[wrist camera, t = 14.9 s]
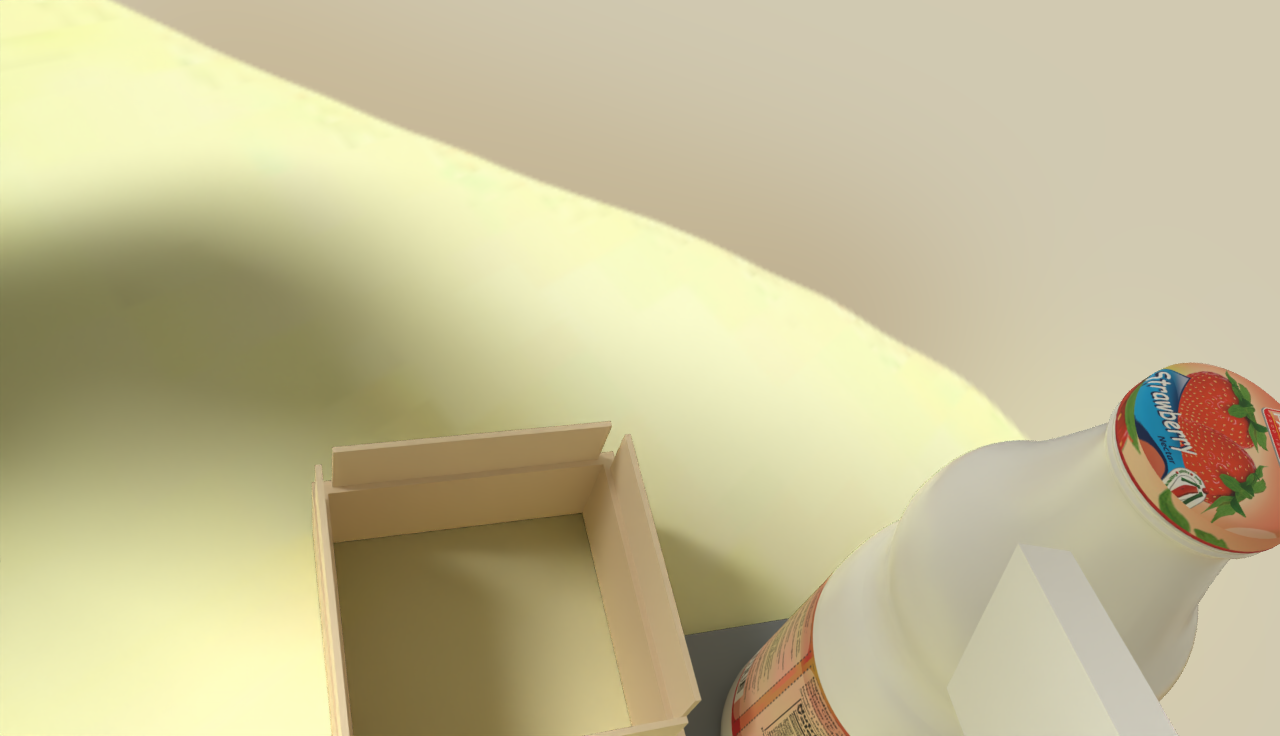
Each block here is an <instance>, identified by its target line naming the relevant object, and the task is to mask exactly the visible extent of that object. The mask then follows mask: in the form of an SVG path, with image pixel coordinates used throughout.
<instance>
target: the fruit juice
mask: <svg viewBox="0 0 1280 736" xmlns="http://www.w3.org/2000/svg"><path fill="white" fill-rule="evenodd" d="M1018 543H1020V544H1027V545H1033V546H1040V547H1046V548H1052V549H1059V550H1065V551H1071V553H1072V555H1073V556H1074V558H1075V560H1076V561H1077V563H1078V565H1079V567H1080V568H1081V570H1082V572H1083V573H1084V575H1085V577H1086V578H1087V580H1088V582H1089V584H1090V585H1091V587H1092V589H1093V590H1094V592H1095V594H1096V596H1097V597H1098V599H1099V601H1100V602H1101V604H1102V606H1103V608H1104V609H1105V611H1106V613H1107V614H1108V616H1109V618H1110V619H1111V621H1112V623H1113V625H1114V626H1115V628H1116V630H1117V631H1118V633H1119V635H1120V637H1121V638H1122V640H1123V642H1124V643H1125V645H1126V647H1127V648H1128V650H1129V652H1130V654H1131V655H1132V657H1133V659H1134V660H1135V662H1136V664H1137V666H1138V667H1139V669H1140V671H1141V672H1142V674H1143V676H1144V678H1145V679H1146V681H1147V683H1148V684H1149V686H1150V688H1151V689H1152V691H1153V693H1154V695H1155V696H1156V698H1157V700H1158V701H1160V700H1161V699H1162V698H1163V697H1164V696H1165V695H1166V694H1167V693H1168V692H1169V690H1170V689H1171V688H1172V687H1173V685H1174V684H1175V683H1176V682H1177V680H1178V679H1179V677H1180V675H1181V674H1182V672H1183V670H1184V668H1185V666H1186V664H1187V662H1188V659H1189V657H1190V654H1191V651H1192V648H1193V644H1194V640H1195V635H1196V630H1197V621H1198V604H1199V602H1200V600H1201V599H1202V597H1203V596H1204V594H1205V592H1206V591H1207V589H1208V588H1209V586H1210V585H1211V584H1212V582H1213V581H1214V579H1215V578H1216V576H1217V575H1218V574H1219V572H1220V571H1221V570H1222V568H1223V567H1224V566H1225V565H1226V563H1227V562H1228V561H1229V560H1230V559H1240V558H1246V557H1250V556H1253V555H1256V554H1258V553H1260V552H1263V551H1266V550H1269V549H1271V548H1273V547H1275V546H1277V545H1278V544H1280V404H1279V403H1278V402H1277V401H1275V399H1273V398H1272V397H1271V396H1270V395H1269V394H1267V393H1266V392H1265V391H1264V390H1262V389H1261V388H1260V387H1258V386H1257V385H1255V384H1254V383H1252V382H1251V381H1249V380H1247V379H1245V378H1244V377H1242V376H1240V375H1238V374H1236V373H1234V372H1231V371H1229V370H1226V369H1224V368H1220V367H1217V366H1213V365H1209V364H1203V363H1180V364H1175V365H1171V366H1168V367H1166V368H1163V369H1161V370H1159V371H1157V372H1155V373H1154V374H1152V375H1150V376H1149V377H1147V378H1146V379H1144V380H1143V381H1142V382H1140V383H1139V384H1137V385H1136V386H1135V387H1134V388H1132V389H1131V390H1130V391H1129V392H1128V393H1127V394H1126V395H1125V397H1124V398H1123V400H1122V401H1121V402H1120V403H1119V404H1118V405H1117V407H1116V408H1115V409H1114V411H1113V412H1112V414H1111V417H1110V419H1109V422H1108V423H1105V424H1102V425H1099V426H1096V427H1093V428H1090V429H1087V430H1083V431H1080V432H1076V433H1073V434H1069V435H1066V436H1062V437H1058V438H1054V439H1050V440H1045V441H1029V440H1016V441H1005V442H998V443H994V444H990V445H986V446H982V447H979V448H977V449H974V450H972V451H969V452H967V453H965V454H963V455H961V456H959V457H957V458H956V459H954V460H952V461H951V462H949V463H948V464H947V465H945V466H944V467H942V468H941V469H940V470H939V471H938V472H937V473H935V474H934V475H933V476H932V477H931V478H929V479H928V480H927V481H926V482H925V483H924V484H923V485H922V486H921V487H920V488H919V489H918V491H917V492H916V493H915V495H914V496H913V497H912V499H911V500H910V502H909V503H908V505H907V507H906V508H905V510H904V512H903V514H902V516H901V519H900V520H898V521H896V522H893V523H892V524H890V525H888V526H886V527H884V528H883V529H881V530H880V531H878V532H877V533H875V534H874V535H873V536H871V537H870V538H869V539H867V540H866V541H865V542H864V543H863V544H861V545H860V546H859V547H858V548H857V549H856V550H854V551H853V552H852V553H851V554H850V555H849V556H848V557H847V558H846V559H845V560H844V561H843V562H842V563H841V564H840V565H839V566H838V567H837V568H836V570H835V571H834V572H833V573H832V574H831V575H830V576H829V578H828V579H827V580H826V581H825V582H824V583H823V584H822V585H821V586H820V587H819V588H818V589H817V590H816V591H815V592H814V593H813V594H812V595H811V596H810V597H809V598H808V600H807V601H806V602H805V603H804V604H803V605H802V606H801V607H800V608H799V609H798V610H797V611H796V612H795V613H794V614H793V615H792V616H791V617H790V618H789V619H788V620H787V622H786V623H785V624H784V625H783V626H782V627H781V628H780V629H779V630H778V631H777V632H776V633H775V634H774V635H773V636H772V637H771V638H770V639H769V640H768V641H767V643H766V644H765V645H764V646H763V647H762V648H761V649H760V650H759V651H758V652H757V653H756V654H755V655H754V656H753V657H752V658H751V659H750V660H749V661H748V663H747V664H746V665H745V666H744V667H743V668H742V670H741V671H740V673H739V674H738V676H737V677H736V679H735V681H734V683H733V685H732V687H731V689H730V691H729V693H728V695H727V698H726V701H725V704H724V708H723V713H722V719H721V734H720V736H964V734H963V731H962V728H961V725H960V723H959V720H958V717H957V715H956V712H955V709H954V707H953V704H952V701H951V699H950V696H949V693H948V691H947V686H948V684H949V682H950V680H951V678H952V676H953V674H954V672H955V670H956V668H957V666H958V664H959V662H960V660H961V658H962V656H963V654H964V652H965V650H966V648H967V646H968V644H969V642H970V640H971V638H972V636H973V634H974V631H975V629H976V627H977V625H978V623H979V621H980V619H981V617H982V615H983V613H984V611H985V609H986V607H987V605H988V603H989V601H990V599H991V597H992V595H993V593H994V591H995V589H996V587H997V585H998V583H999V581H1000V579H1001V577H1002V575H1003V573H1004V571H1005V569H1006V567H1007V565H1008V563H1009V561H1010V559H1011V557H1012V555H1013V553H1014V551H1015V549H1016V547H1017V545H1018Z"/></svg>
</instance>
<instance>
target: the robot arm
mask: <svg viewBox="0 0 1280 736" xmlns="http://www.w3.org/2000/svg"><path fill="white" fill-rule="evenodd" d="M947 691H948V693H949V696H950V699H951V701H952V704H953V707H954V709H955V712H956V715H957V717H958V720H959V723H960V725H961V728H962V731H963V734H964V736H1178V734H1177V732H1176V730H1175V729H1174V727H1173V725H1172V724H1171V722H1170V720H1169V719H1168V717H1167V715H1166V713H1165V712H1164V710H1163V708H1162V707H1161V705H1160V703H1159V701H1158V700H1157V698H1156V696H1155V695H1154V693H1153V691H1152V689H1151V688H1150V686H1149V684H1148V683H1147V681H1146V679H1145V678H1144V676H1143V674H1142V672H1141V671H1140V669H1139V667H1138V666H1137V664H1136V662H1135V660H1134V659H1133V657H1132V655H1131V654H1130V652H1129V650H1128V648H1127V647H1126V645H1125V643H1124V642H1123V640H1122V638H1121V637H1120V635H1119V633H1118V631H1117V630H1116V628H1115V626H1114V625H1113V623H1112V621H1111V619H1110V618H1109V616H1108V614H1107V613H1106V611H1105V609H1104V608H1103V606H1102V604H1101V602H1100V601H1099V599H1098V597H1097V596H1096V594H1095V592H1094V590H1093V589H1092V587H1091V585H1090V584H1089V582H1088V580H1087V578H1086V577H1085V575H1084V573H1083V572H1082V570H1081V568H1080V567H1079V565H1078V563H1077V561H1076V560H1075V558H1074V556H1073V555H1072V553H1071V551H1065V550H1059V549H1052V548H1046V547H1040V546H1033V545H1027V544H1020V543H1018V545H1017V547H1016V549H1015V551H1014V553H1013V555H1012V557H1011V559H1010V561H1009V563H1008V565H1007V567H1006V569H1005V571H1004V573H1003V575H1002V577H1001V579H1000V581H999V583H998V585H997V587H996V589H995V591H994V593H993V595H992V597H991V599H990V601H989V603H988V605H987V607H986V609H985V611H984V613H983V615H982V617H981V619H980V621H979V623H978V625H977V627H976V629H975V631H974V634H973V636H972V638H971V640H970V642H969V644H968V646H967V648H966V650H965V652H964V654H963V656H962V658H961V660H960V662H959V664H958V666H957V668H956V670H955V672H954V674H953V676H952V678H951V680H950V682H949V684H948V686H947Z"/></svg>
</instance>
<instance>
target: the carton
mask: <svg viewBox="0 0 1280 736" xmlns="http://www.w3.org/2000/svg"><path fill="white" fill-rule="evenodd" d="M611 427H612V424H611V421H606V422H596V423H585V424H574V425H563V426H553V427H542V428H531V429H521V430H510V431H499V432H489V433H478V434H467V435H457V436H446V437H435V438H424V439H414V440H403V441H392V442H382V443H371V444H360V445H350V446H339V447H332V480H330V481H323V474H322V464H321V465H315V482H312V521H313V541H314V552H315V562H316V573H317V583H318V594H319V605H320V615H321V626H322V636H323V647H324V657H325V668H326V678H327V689H328V699H329V710H330V720H331V731H332V736H353V727H352V718H351V708H350V699H349V689H348V679H347V670H346V660H345V651H344V641H343V632H342V622H341V613H340V603H339V593H338V584H337V574H336V565H335V555H334V546H333V543H337V542H345V541H353V540H362V539H370V538H378V537H386V536H395V535H403V534H411V533H419V532H428V531H436V530H444V529H453V528H461V527H469V526H477V525H486V524H494V523H502V522H510V521H519V520H527V519H535V518H543V517H552V516H560V515H568V514H577V513H582V514H583V518H584V523H585V527H586V531H587V536H588V540H589V544H590V548H591V553H592V557H593V561H594V566H595V570H596V574H597V579H598V583H599V587H600V592H601V596H602V600H603V605H604V609H605V613H606V618H607V622H608V626H609V630H610V635H611V639H612V643H613V648H614V652H615V656H616V661H617V665H618V669H619V674H620V678H621V682H622V687H623V691H624V695H625V699H626V704H627V708H628V712H629V717H630V721H631V725H632V727H627V728H621V729H616V730H611V731H605V732H600V733H595V734H590V735H584V736H686V735H685V731H684V727H685V726H686V725H687V724H688V719H687V715H688V714H689V713H690V712H691V711H692V710H693V709H694V708H695V707H696V705H697V704H698V703H699V702H700V701H701V697H700V693H699V689H698V685H697V682H696V678H695V674H694V670H693V667H692V663H691V659H690V655H689V652H688V648H687V644H686V640H685V637H684V633H683V629H682V625H681V622H680V618H679V614H678V610H677V607H676V603H675V599H674V595H673V592H672V588H671V584H670V580H669V577H668V573H667V569H666V565H665V562H664V558H663V554H662V550H661V547H660V543H659V539H658V535H657V532H656V528H655V524H654V520H653V517H652V513H651V509H650V505H649V502H648V498H647V494H646V490H645V487H644V483H643V479H642V475H641V472H640V468H639V464H638V460H637V457H636V453H635V449H634V445H633V442H632V438H631V434H626V435H625V436H624V438H623V440H622V442H621V445H620V447H619V449H618V451H617V453H616V456H615V457H614V453H613V451H612V452H602V453H601V451H602V448H603V446H604V444H605V441H606V439H607V437H608V434H609V432H610V430H611Z"/></svg>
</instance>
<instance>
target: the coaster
mask: <svg viewBox="0 0 1280 736" xmlns="http://www.w3.org/2000/svg"><path fill="white" fill-rule="evenodd" d="M788 619H789V618H788ZM788 619H782V620H776V621H770V622H764V623H758V624H752V625H746V626H740V627H733V628H727V629H721V630H715V631H709V632H703V633H697V634H691V635H685V636H684V637H685V640H686V644H687V648H688V652H689V655H690V659H691V663H692V667H693V670H694V674H695V678H696V682H697V685H698V689H699V693H700V697H701V701H700V702H699V703H698V704H697V705H696V707H695V708H694V709H693V710H692V711H691V712H690V713H689V714H688V715H687V719H688V724H687V725H686V726H685V727H684V731H685V735H686V736H720V734H721V719H722V713H723V708H724V704H725V701H726V698H727V695H728V693H729V691H730V689H731V687H732V685H733V683H734V681H735V679H736V677H737V676H738V674H739V673H740V671H741V670H742V668H743V667H744V666H745V665H746V664H747V663H748V661H749V660H750V659H751V658H752V657H753V656H754V655H755V654H756V653H757V652H758V651H759V650H760V649H761V648H762V647H763V646H764V645H765V644H766V643H767V641H768V640H769V639H770V638H771V637H772V636H773V635H774V634H775V633H776V632H777V631H778V630H779V629H780V628H781V627H782V626H783V625H784V624H785V623H786V622H787V620H788Z"/></svg>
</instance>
